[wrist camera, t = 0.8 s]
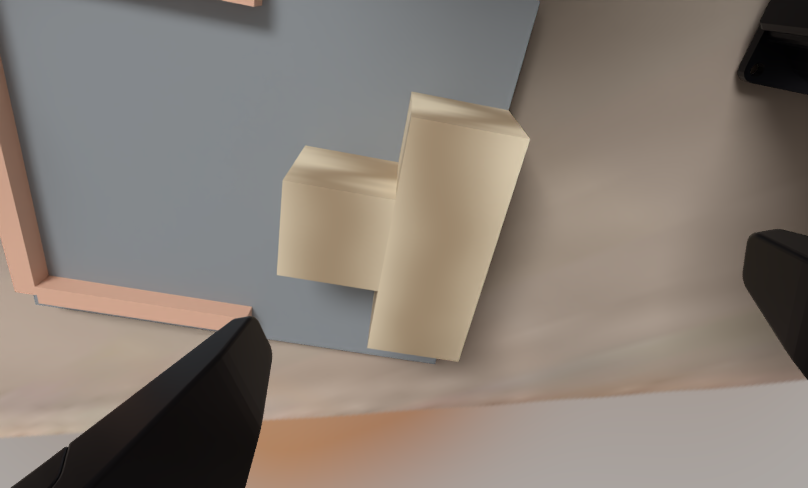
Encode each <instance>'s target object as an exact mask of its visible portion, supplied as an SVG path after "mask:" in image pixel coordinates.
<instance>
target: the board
mask: <svg viewBox="0 0 808 488" xmlns="http://www.w3.org/2000/svg"><path fill="white" fill-rule="evenodd" d="M539 4H540V1H537V0H0V237H1V241H2V245H3V249H4V252H5V256H6V260H7V264H8V267H9V271H10V275H11V278H12V282H13V286H14V290H15V292H19V293H26V294H32V295H34V299H35V304H37V305H44V306H51V307H57V308H64V309H71V310H77V311H84V312H91V313H97V314H104V315H111V316H117V317H124V318H131V319H137V320H144V321H151V322H157V323H164V324H171V325H177V326H184V327H191V328H197V329H204V330H211V331H218V330H219V329H221V328H222V327H223V326H225V325H226V324H227V323H229V322H230V321H231V320H233V319H235V318H241V317H247V316H253V317H256V319H257V320H258V321H259V323H260V325H261V327H262V329H263V331H264V334H265V336H266V338H267V339H271V340H277V341H284V342H291V343H297V344H304V345H311V346H317V347H324V348H331V349H337V350H344V351H351V352H357V353H364V354H371V355H377V356H384V357H391V358H397V359H404V360H411V361H417V362H424V363H431V364H435V362H436V358H430V357H423V356H416V355H410V354H403V353H396V352H390V351H383V350H377V349H370V348H367V345H368V337H369V329H370V321H371V312H372V304H373V296H374V290H367V289H361V288H355V287H349V286H342V285H336V284H330V283H324V282H317V281H311V280H305V279H299V278H292V277H286V276H280V275H277V262H278V246H279V230H280V214H281V198H282V182H283V179H284V177H285V176H286V174H287V173H288V171H289V170H290V168H291V167H292V165H293V164H294V162H295V160H296V159H297V157H298V156H299V154H300V153H301V151H302V150H303V148H304V147H305V145H306V146H311V147H317V148H322V149H328V150H333V151H339V152H344V153H350V154H355V155H361V156H366V157H372V158H377V159H383V160H388V161H394V162H399V156H400V151H401V146H402V140H403V135H404V129H405V124H406V119H407V113H408V108H409V103H410V97H411V92H417V93H422V94H427V95H432V96H437V97H442V98H448V99H453V100H458V101H463V102H468V103H473V104H479V105H484V106H489V107H494V108H499V109H504V110H509V107H510V104H511V100H512V97H513V93H514V90H515V86H516V83H517V80H518V76H519V73H520V69H521V66H522V62H523V59H524V55H525V52H526V49H527V45H528V42H529V38H530V35H531V31H532V28H533V24H534V21H535V18H536V14H537V11H538V7H539Z"/></svg>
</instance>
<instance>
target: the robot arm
mask: <svg viewBox="0 0 808 488" xmlns="http://www.w3.org/2000/svg"><path fill="white" fill-rule="evenodd" d="M755 64H758V68H757V70H756V71H755V73H753V74H751V73H750V72H751V68H752V67H753V66H754V65H755ZM738 76H739V77H740V79H741V80H743V81H746V82H750V83H754V84H759V85H764V86H768V87H773V88H778V89H783V90H788V91H793V92H797V93H802V94H807V95H808V0H770V2H769V4H768V6H767V8H766V10H765V12H764V14H763V16H762V18H761V20H760V26H759V28H758V30H757V32H756V34H755V36H754V38H753V40H752V42H751V44H750V46H749V48H748V50H747V52H746V54H745V56H744V58H743V60H742V62H741V64H740V66H739V69H738ZM743 281H744V284H745V287H746V288H747V290H748V292H749V293H750V295H751V296H752V298H753V300H754V301H755V303H756V304H757V306H758V308H759V309H760V311H761V312H762V314H763V315H764V317H765V319H766V320H767V322H768V323H769V325H770V326H771V328H772V330H773V331H774V333H775V334H776V336H777V338H778V339H779V341H780V342H781V344H782V345H783V347H784V349H785V350H786V351H787V353H788V354H789V356H790V357H791V359H792V360H793V362H794V363H795V364H796V366H797V367H798V368H799V369H800V371H801V372H802V373H803V375H804V376H805V377H806V378H807V380H808V236H806V235H802V234H798V233H794V232H790V231H786V230H781V229H774V230H768V231H762V232H756V233H753V234H752V235H750V236H749V238H748V241H747V246H746V252H745V259H744V266H743ZM271 363H272V350H271V346H270V344H269V342H268V340H267V338H266V336H265V334H264V331H263V329H262V327H261V325H260V323H259V321H258V320H257V319H256V317H253V316H247V317H241V318H235V319H233V320H231V321H230V322H229V323H227V324H226V325H225V326H223V327H222V328H221V329H219V330H218V331H217V332H215V333H214V334H213V335H211V336H210V337H209V338H208V339H206V340H205V341H204V342H202V343H201V344H200V345H198V346H197V347H196V348H194V349H193V350H192V351H190V352H189V353H188V354H187V355H185V356H184V357H183V358H181V359H180V360H179V361H177V362H176V363H175V364H173V365H172V366H171V367H169V368H168V369H167V370H166V371H164V372H163V373H162V374H160V375H159V376H158V377H156V378H155V379H154V380H152V381H151V382H150V383H148V384H147V385H146V386H145V387H143V388H142V389H141V390H139V391H138V392H137V393H135V394H134V395H133V396H131V397H130V398H129V399H127V400H126V401H125V402H124V403H122V404H121V405H120V406H118V407H117V408H116V409H114V410H113V411H112V412H110V413H109V414H108V415H106V416H105V417H104V418H103V419H101V420H100V421H99V422H97V423H96V424H95V425H93V426H92V427H91V428H89V429H88V430H87V431H85V432H84V433H83V434H82V435H80V436H79V437H78V438H76V439H75V440H74V441H72V442H71V443H70V444H69V447H64V448H63V449H62V450H60V451H59V452H58V453H56V454H55V455H54V456H52V457H51V458H50V459H49V460H47V461H46V462H45V463H43V464H42V465H41V466H39V467H38V468H37V469H35V470H34V471H33V472H31V473H30V474H28V475H27V476H26V477H25V478H23V479H22V480H21V481H19V482H18V483H16V484H15V485H14V486H12V487H11V488H245V486H246V483H247V479H248V475H249V471H250V468H251V464H252V460H253V457H254V452H255V449H256V446H257V442H258V438H259V434H260V430H261V425H262V420H263V414H264V408H265V401H266V395H267V388H268V382H269V376H270V369H271Z"/></svg>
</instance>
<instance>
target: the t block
mask: <svg viewBox="0 0 808 488" xmlns="http://www.w3.org/2000/svg"><path fill="white" fill-rule="evenodd" d="M529 141H530V138H529V137H528V136H527V134H526V133H525V132H524V130H523V129H522V128H521V126H520V125H519V124H518V122H517V121H516V120H515V118H514V117H513V116H512V114H511V113H510V112H509V110H504V109H499V108H494V107H489V106H484V105H479V104H473V103H468V102H463V101H458V100H453V99H448V98H442V97H437V96H432V95H427V94H422V93H417V92H411V97H410V103H409V108H408V113H407V119H406V124H405V129H404V135H403V140H402V146H401V151H400V156H399V162H394V161H388V160H383V159H377V158H372V157H366V156H361V155H355V154H350V153H344V152H339V151H333V150H328V149H322V148H317V147H311V146H306V145H305V147H304V148H303V150H302V151H301V153H300V154H299V156H298V157H297V159H296V160H295V162H294V164H293V165H292V167H291V168H290V170H289V171H288V173H287V174H286V176H285V177H284V179H283V182H282V198H281V214H280V230H279V246H278V262H277V275H280V276H286V277H292V278H299V279H305V280H311V281H317V282H324V283H330V284H336V285H342V286H349V287H355V288H361V289H367V290H374V296H373V304H372V312H371V321H370V329H369V337H368V345H367V348H370V349H377V350H383V351H390V352H396V353H403V354H410V355H416V356H423V357H430V358H436V359H443V360H449V361H456V362H459V359H460V355H461V352H462V349H463V346H464V343H465V340H466V337H467V334H468V331H469V328H470V324H471V321H472V318H473V315H474V312H475V309H476V306H477V303H478V300H479V296H480V293H481V290H482V287H483V284H484V281H485V278H486V275H487V272H488V269H489V265H490V262H491V259H492V256H493V253H494V250H495V247H496V244H497V241H498V237H499V234H500V231H501V228H502V225H503V222H504V219H505V216H506V213H507V210H508V206H509V203H510V200H511V197H512V194H513V191H514V188H515V185H516V182H517V178H518V175H519V172H520V169H521V166H522V163H523V160H524V157H525V154H526V151H527V147H528V144H529Z"/></svg>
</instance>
